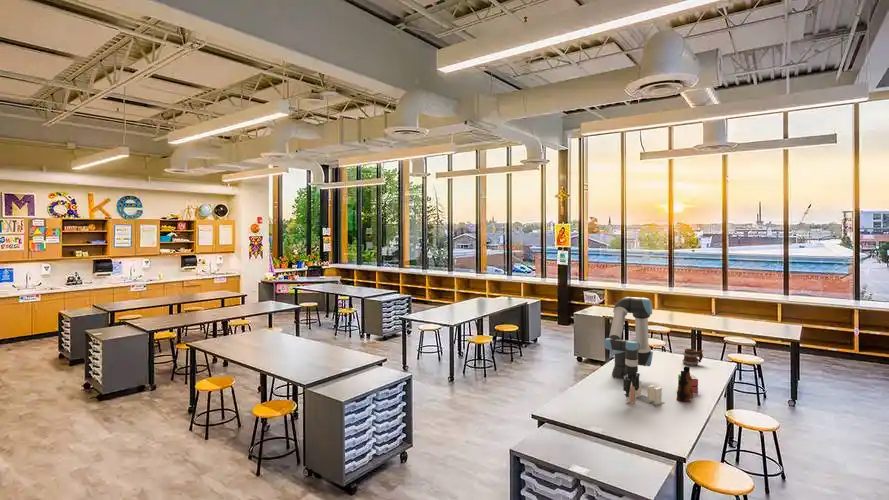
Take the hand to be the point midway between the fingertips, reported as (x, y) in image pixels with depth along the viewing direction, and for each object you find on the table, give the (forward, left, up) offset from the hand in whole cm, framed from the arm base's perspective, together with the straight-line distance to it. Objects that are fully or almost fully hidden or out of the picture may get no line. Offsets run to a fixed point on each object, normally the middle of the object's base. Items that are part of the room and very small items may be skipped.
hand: (631, 400), depth 304 cm
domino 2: (-5, +13, -1) cm, 14 cm away
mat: (0, +13, -2) cm, 13 cm away
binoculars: (+13, +37, -2) cm, 39 cm away
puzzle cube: (+5, +53, -2) cm, 53 cm away
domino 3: (+5, +13, -1) cm, 14 cm away
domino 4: (+10, +13, -1) cm, 16 cm away
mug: (-30, +115, -2) cm, 119 cm away
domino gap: (0, 0, -1) cm, 1 cm away
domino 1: (-10, +13, -1) cm, 16 cm away
